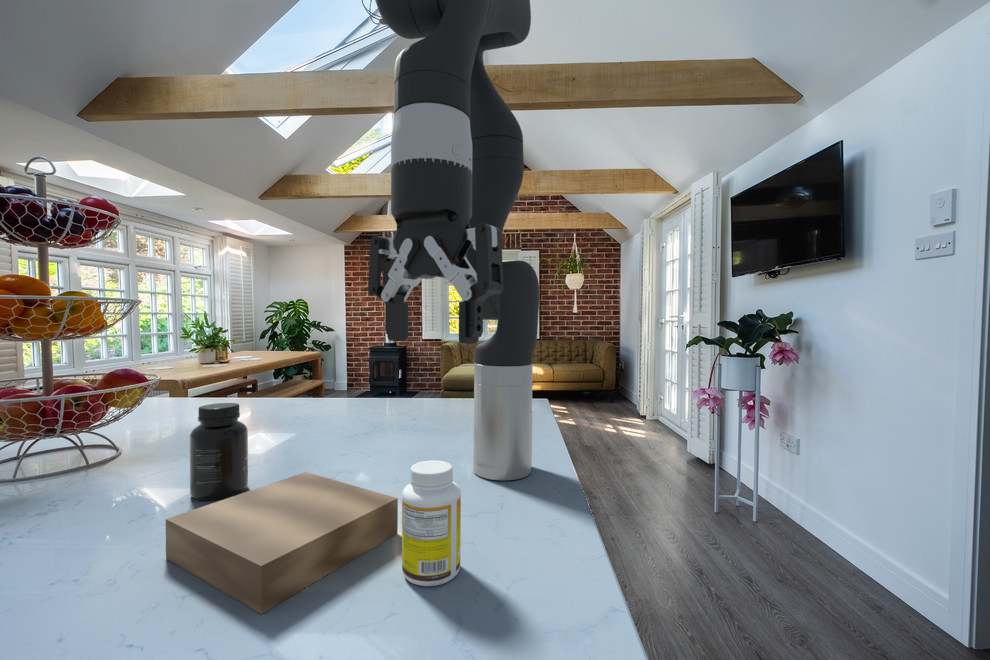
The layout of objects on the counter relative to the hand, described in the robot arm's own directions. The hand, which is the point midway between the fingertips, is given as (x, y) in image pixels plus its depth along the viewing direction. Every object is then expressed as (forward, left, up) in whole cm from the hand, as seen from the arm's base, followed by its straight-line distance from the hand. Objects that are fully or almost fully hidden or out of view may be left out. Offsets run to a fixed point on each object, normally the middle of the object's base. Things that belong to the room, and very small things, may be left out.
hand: (431, 342), depth 42 cm
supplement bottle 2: (0, 0, -22) cm, 22 cm away
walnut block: (+4, -16, -22) cm, 27 cm away
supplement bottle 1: (0, -37, -22) cm, 43 cm away
